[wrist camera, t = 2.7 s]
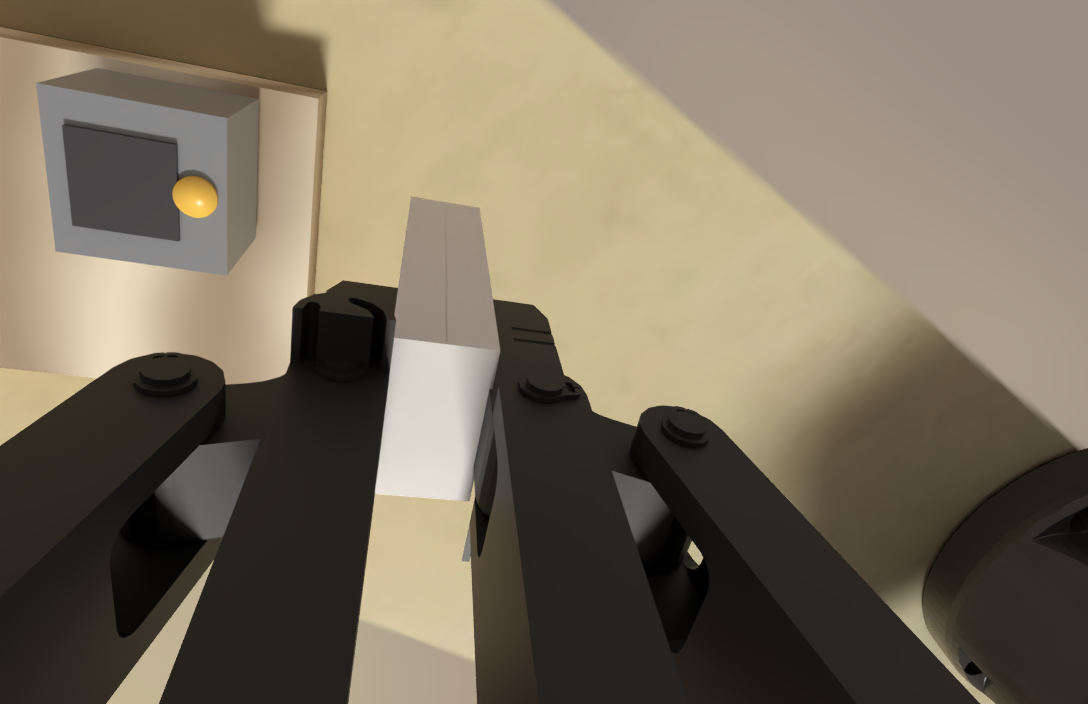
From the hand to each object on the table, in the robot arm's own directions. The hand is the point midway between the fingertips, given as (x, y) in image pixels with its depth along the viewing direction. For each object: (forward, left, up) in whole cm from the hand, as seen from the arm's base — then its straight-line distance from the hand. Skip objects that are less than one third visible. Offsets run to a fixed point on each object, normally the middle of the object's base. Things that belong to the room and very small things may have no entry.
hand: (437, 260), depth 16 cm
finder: (+7, 0, -6) cm, 9 cm away
